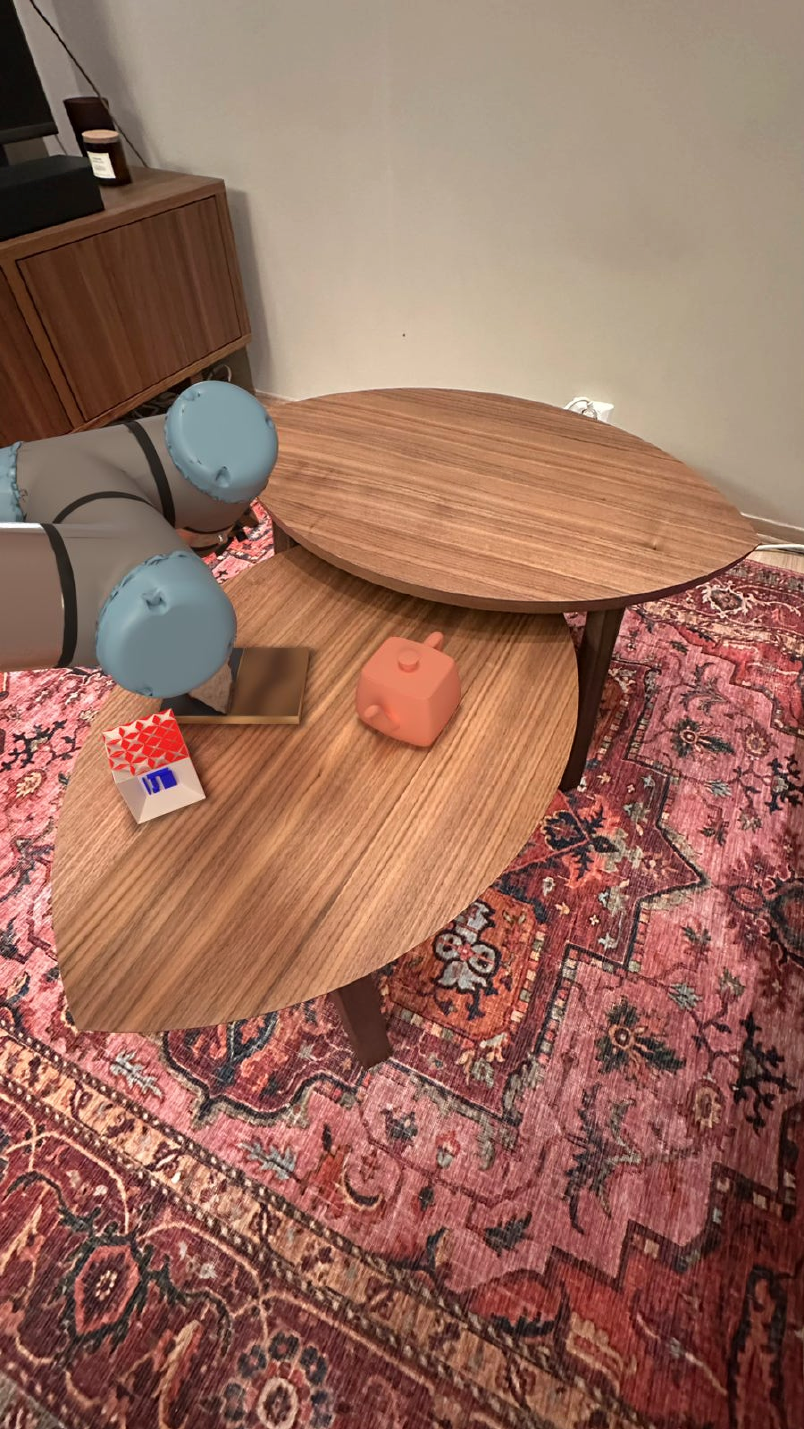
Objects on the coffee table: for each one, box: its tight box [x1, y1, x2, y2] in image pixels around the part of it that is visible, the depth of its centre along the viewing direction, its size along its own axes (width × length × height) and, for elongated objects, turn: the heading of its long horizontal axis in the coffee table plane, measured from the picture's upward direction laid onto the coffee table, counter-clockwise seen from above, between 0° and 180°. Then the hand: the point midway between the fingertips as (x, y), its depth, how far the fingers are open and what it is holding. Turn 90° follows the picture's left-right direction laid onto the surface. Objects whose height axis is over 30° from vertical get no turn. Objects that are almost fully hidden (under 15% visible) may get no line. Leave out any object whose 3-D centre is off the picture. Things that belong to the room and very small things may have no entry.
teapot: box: [355, 631, 462, 748], centre depth 83 cm, size 12×18×10 cm, turn 150°
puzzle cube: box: [100, 708, 207, 825], centre depth 78 cm, size 8×8×8 cm
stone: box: [187, 658, 235, 714], centre depth 89 cm, size 15×9×10 cm
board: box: [158, 646, 311, 725], centre depth 91 cm, size 18×13×1 cm
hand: (160, 568), depth 78 cm, fingers open, 13 cm apart
